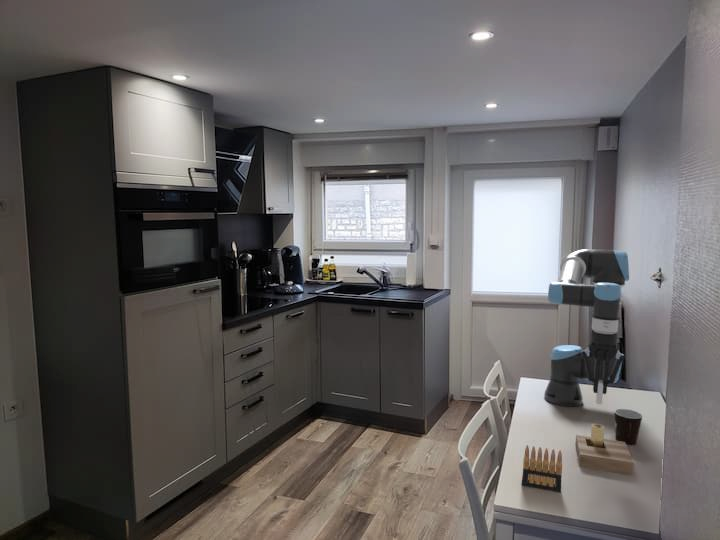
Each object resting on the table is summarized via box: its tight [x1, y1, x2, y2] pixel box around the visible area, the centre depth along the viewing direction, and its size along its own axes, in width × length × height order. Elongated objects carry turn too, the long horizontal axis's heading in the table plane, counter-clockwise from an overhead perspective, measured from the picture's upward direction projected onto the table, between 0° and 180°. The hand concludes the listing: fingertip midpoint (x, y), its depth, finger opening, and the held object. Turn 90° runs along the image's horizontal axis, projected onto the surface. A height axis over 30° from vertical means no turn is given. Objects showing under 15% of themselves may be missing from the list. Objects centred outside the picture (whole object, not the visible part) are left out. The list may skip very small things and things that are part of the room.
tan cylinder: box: [590, 423, 605, 448], centre depth 167 cm, size 4×4×10 cm
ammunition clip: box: [521, 444, 563, 494], centre depth 146 cm, size 11×2×12 cm, turn 71°
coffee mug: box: [614, 408, 643, 446], centre depth 177 cm, size 12×9×10 cm
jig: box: [574, 434, 634, 476], centre depth 164 cm, size 15×15×4 cm
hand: (598, 402), depth 165 cm, fingers closed
